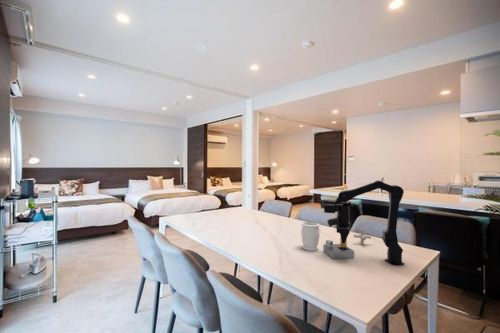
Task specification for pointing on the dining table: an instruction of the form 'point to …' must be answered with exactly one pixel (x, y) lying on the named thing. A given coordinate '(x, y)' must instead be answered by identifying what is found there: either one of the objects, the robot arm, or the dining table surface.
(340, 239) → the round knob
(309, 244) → the jar
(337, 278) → the dining table surface
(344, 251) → the grey slotted base
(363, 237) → the pipe connector
